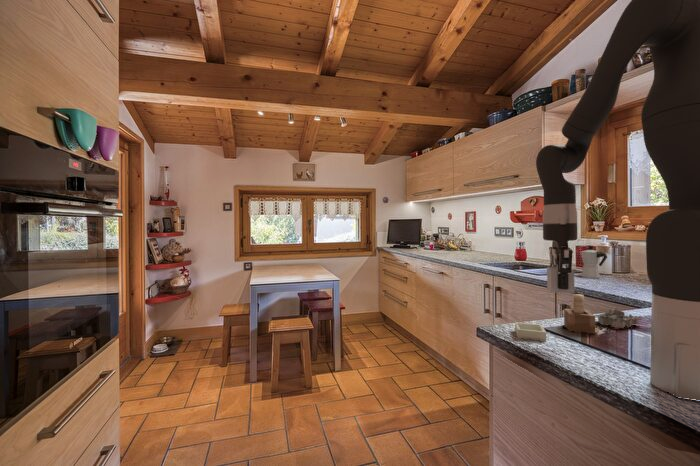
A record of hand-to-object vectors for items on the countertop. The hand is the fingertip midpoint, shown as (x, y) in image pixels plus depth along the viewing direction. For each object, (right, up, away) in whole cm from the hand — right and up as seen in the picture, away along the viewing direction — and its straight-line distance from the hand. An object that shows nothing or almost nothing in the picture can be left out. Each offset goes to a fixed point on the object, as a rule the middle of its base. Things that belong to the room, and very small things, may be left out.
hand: (560, 286), depth 83 cm
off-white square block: (0, -1, 0) cm, 1 cm away
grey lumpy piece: (+26, -14, +13) cm, 33 cm away
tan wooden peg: (+11, -14, +9) cm, 20 cm away
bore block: (+11, -14, +9) cm, 20 cm away
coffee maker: (+82, -11, +96) cm, 127 cm away
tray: (-6, -14, +4) cm, 16 cm away
